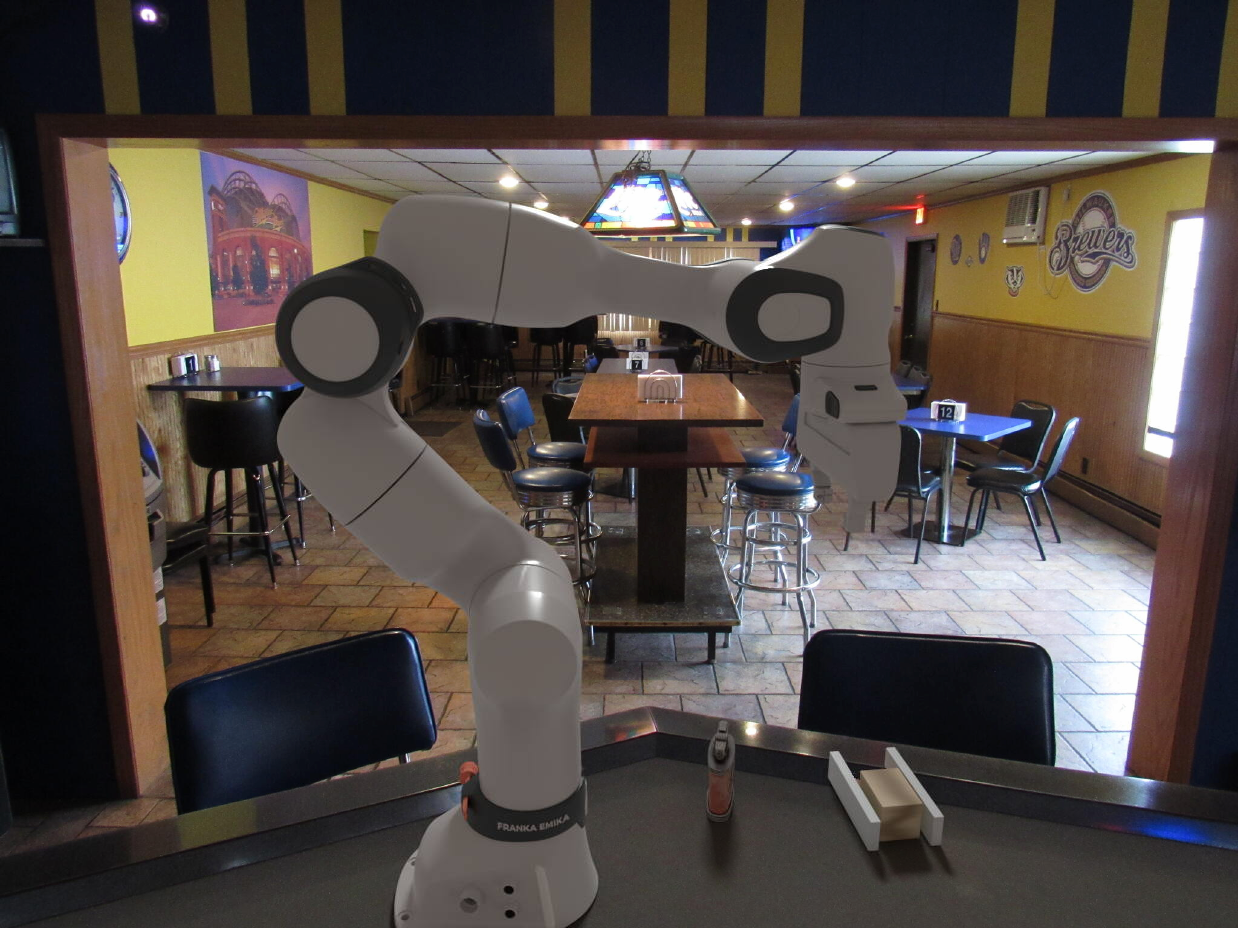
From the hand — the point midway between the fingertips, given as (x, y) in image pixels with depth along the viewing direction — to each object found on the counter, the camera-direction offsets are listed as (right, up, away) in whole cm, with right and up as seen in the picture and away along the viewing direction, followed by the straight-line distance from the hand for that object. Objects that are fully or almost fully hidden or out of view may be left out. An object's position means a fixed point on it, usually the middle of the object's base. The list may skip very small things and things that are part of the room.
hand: (837, 515), depth 90 cm
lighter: (-10, -38, +19) cm, 44 cm away
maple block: (+10, -39, +15) cm, 43 cm away
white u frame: (+10, -39, +17) cm, 43 cm away
